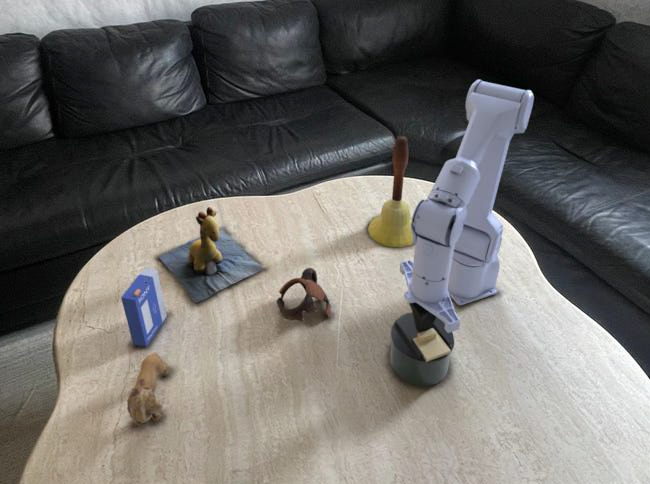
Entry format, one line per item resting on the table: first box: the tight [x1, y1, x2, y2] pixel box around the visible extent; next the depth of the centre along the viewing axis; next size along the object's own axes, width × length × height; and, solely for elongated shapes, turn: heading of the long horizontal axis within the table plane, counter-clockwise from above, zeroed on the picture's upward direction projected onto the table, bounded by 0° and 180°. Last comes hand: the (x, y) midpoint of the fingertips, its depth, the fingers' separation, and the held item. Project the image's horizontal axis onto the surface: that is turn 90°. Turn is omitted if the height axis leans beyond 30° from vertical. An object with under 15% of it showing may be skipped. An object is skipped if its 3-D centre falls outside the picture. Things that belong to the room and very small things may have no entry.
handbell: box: [367, 135, 414, 248], centre depth 116 cm, size 12×12×25 cm
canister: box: [389, 311, 455, 387], centre depth 88 cm, size 11×11×8 cm
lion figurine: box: [126, 352, 170, 427], centre depth 81 cm, size 15×5×9 cm, turn 13°
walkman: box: [120, 267, 168, 348], centre depth 94 cm, size 8×3×12 cm, turn 166°
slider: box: [412, 328, 452, 362], centre depth 84 cm, size 4×5×2 cm
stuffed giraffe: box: [157, 206, 264, 304], centre depth 109 cm, size 16×18×16 cm
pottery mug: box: [276, 267, 332, 323], centre depth 100 cm, size 12×10×8 cm
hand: (422, 329), depth 86 cm, fingers closed
